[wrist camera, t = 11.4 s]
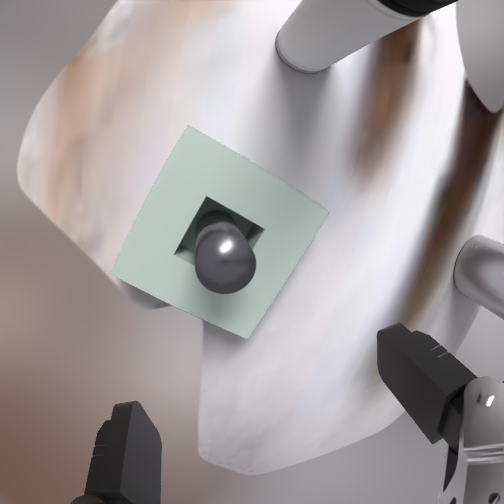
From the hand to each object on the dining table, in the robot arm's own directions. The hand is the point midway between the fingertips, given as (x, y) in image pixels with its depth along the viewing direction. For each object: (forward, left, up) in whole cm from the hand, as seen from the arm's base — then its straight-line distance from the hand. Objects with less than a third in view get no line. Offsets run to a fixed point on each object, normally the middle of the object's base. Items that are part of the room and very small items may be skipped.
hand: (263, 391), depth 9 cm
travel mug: (+2, -21, -23) cm, 31 cm away
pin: (0, 0, -22) cm, 22 cm away
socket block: (0, 0, -23) cm, 23 cm away
